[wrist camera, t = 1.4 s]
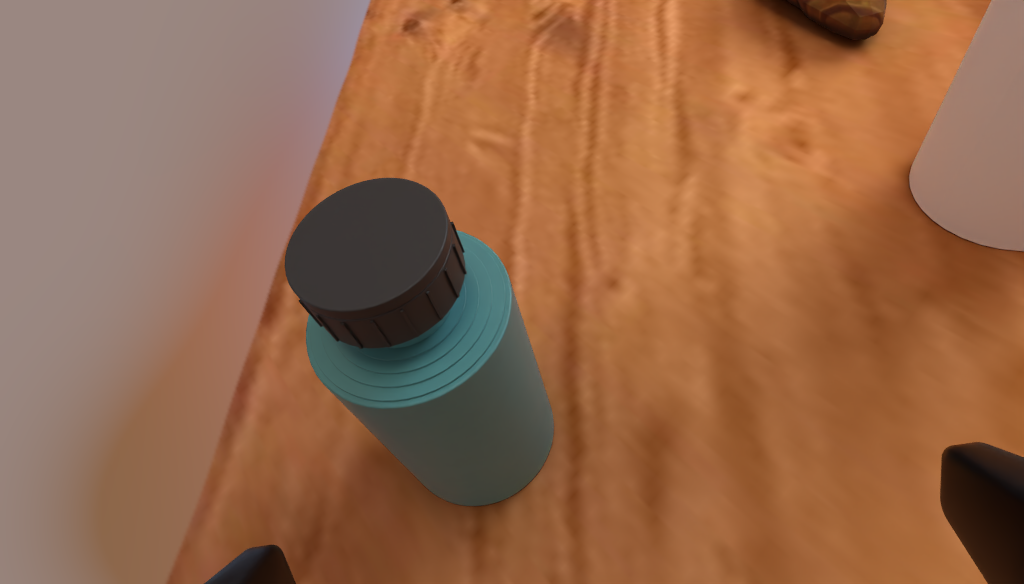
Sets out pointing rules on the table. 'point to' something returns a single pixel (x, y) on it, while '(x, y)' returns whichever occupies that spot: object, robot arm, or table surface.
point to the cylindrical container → (980, 139)
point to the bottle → (452, 390)
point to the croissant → (845, 15)
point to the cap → (377, 262)
